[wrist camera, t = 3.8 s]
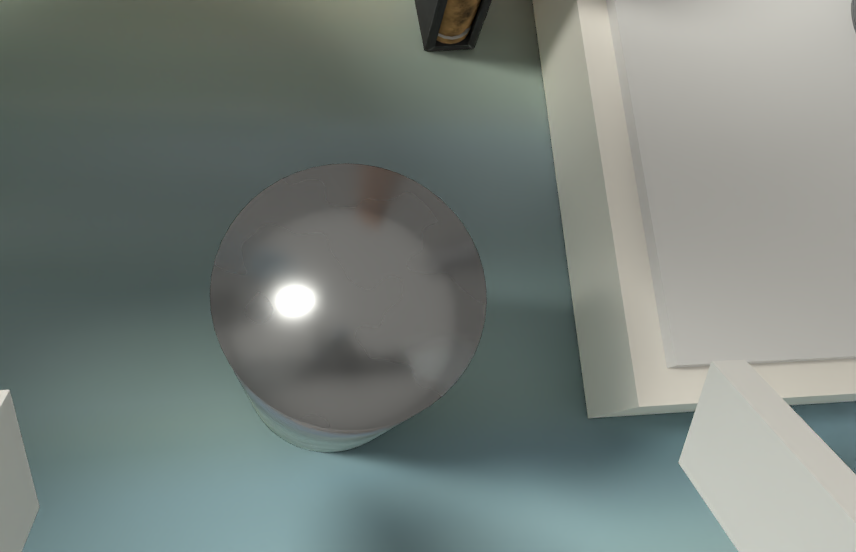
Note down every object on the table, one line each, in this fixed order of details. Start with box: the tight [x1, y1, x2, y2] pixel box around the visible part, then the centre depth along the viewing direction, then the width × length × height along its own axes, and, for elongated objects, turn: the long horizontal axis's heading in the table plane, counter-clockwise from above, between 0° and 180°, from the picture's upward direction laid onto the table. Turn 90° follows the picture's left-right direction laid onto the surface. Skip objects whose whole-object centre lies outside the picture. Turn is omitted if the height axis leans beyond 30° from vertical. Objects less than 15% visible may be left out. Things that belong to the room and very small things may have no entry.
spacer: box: [210, 164, 487, 452], centre depth 17 cm, size 5×5×9 cm
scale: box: [532, 0, 856, 418], centre depth 24 cm, size 17×16×4 cm
